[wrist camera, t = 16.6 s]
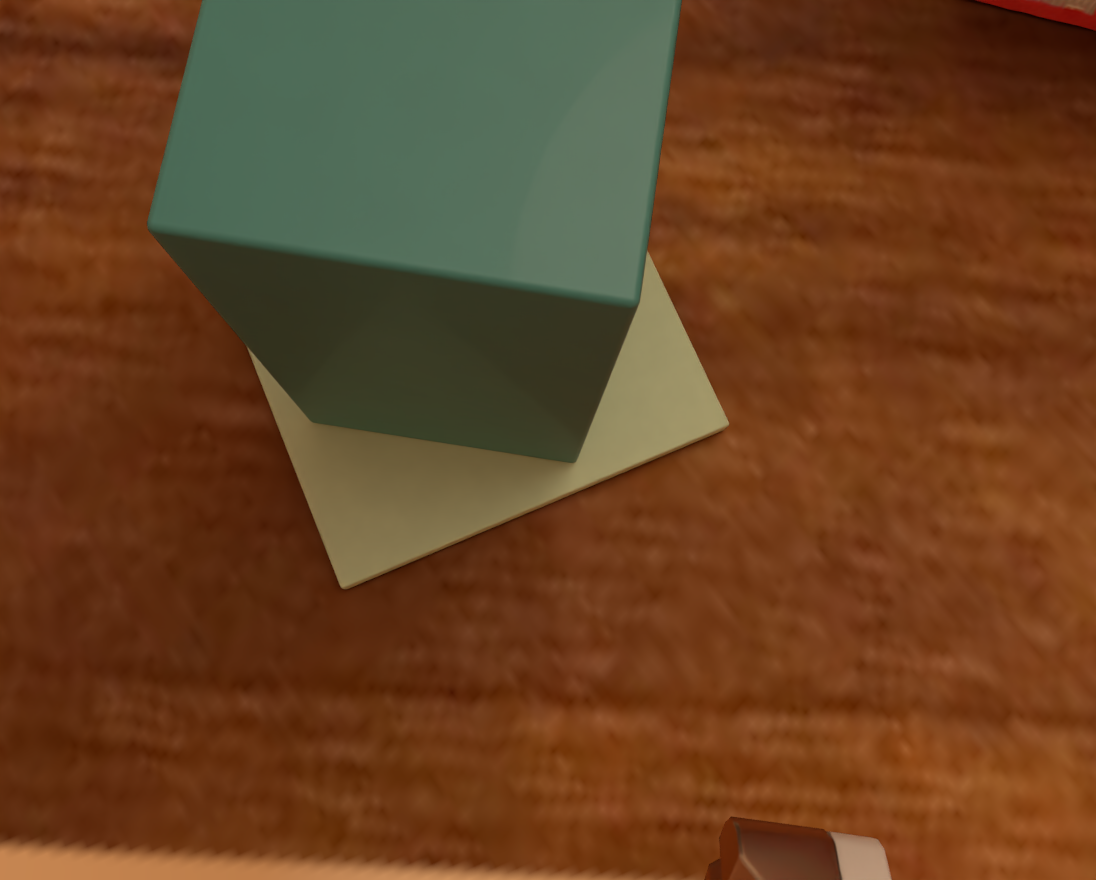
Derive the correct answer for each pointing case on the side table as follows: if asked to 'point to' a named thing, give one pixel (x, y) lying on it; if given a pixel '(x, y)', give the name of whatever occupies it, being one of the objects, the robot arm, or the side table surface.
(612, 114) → the teal block
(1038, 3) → the stack of blocks
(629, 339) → the sage mat
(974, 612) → the side table surface
